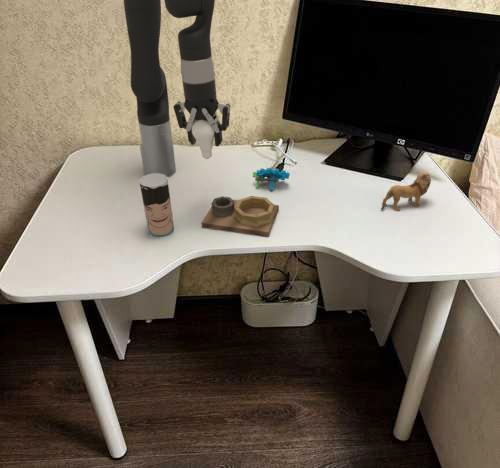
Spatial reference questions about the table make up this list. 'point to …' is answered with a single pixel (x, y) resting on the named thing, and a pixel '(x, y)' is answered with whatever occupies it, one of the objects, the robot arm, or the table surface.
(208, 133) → the lightbulb
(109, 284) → the table surface
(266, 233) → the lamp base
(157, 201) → the face-printed can
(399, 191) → the lion figurine
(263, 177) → the gear
